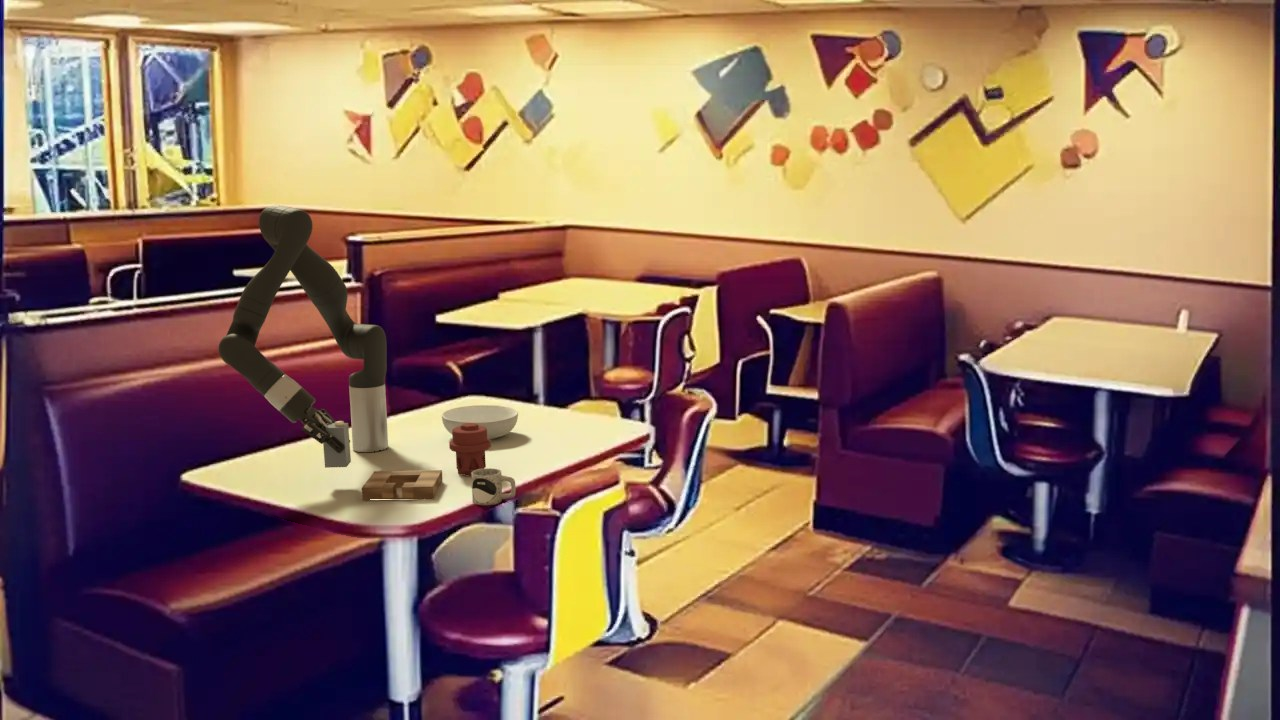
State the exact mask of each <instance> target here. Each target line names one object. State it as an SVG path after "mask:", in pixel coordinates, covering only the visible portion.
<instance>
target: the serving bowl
mask: <svg viewBox="0 0 1280 720" xmlns="http://www.w3.org/2000/svg"><path fill="white" fill-rule="evenodd" d="M518 416H519V411H518V410H517V409H515V408H513V407H510V406H507V405H506V406H505V405H494V404H476V405H475V404H474V405H464V406H459V407H453V408H450V409H447V410H445V411H443V412H442V414H441V421H442V424H443V426H444V428H445V429H446V431H447V432H449V434H451V435H452V429H454V428H456V427H459V426H461V425H462V424H465V423H476V424H478V425H480V426H484V427H486V428H487V438H488V439H491V440H494V439H496V438H500V437H504V436H505V435H508V434H509V433H510V432H512V431H513V429H514V428H515V427H516V425H517V422H518ZM493 438H494V439H493Z"/></svg>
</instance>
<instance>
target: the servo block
mask: <svg viewBox="0 0 1280 720" xmlns="http://www.w3.org/2000/svg"><path fill="white" fill-rule="evenodd" d="M335 421H336V420H335ZM326 425H327V426H328V428H327V430H328V431H329V432H331V433H332V434H333V437H336V438H337V439H338V440H339V441H340V442H341V443H342V444H344V445H345V449H344V450H343V451H342V452H341V453H337V452H336V451H335V450H334V449H333V448H332V447H331V446H329V445H328V444H325V443H323V458H324V460H323V461H324V468H347V467H348V466H349V465H350V463H351V462H352V459H351V458H352V457H351V456H352V455H351V441H350V442H349V440H350V433H349V432H350V429H349V422H344V420H338V421H336V422H335V423H332V424H328V423H327V424H326ZM324 432H325V431H324Z"/></svg>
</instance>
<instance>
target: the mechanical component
mask: <svg viewBox="0 0 1280 720" xmlns="http://www.w3.org/2000/svg"><path fill="white" fill-rule="evenodd" d="M451 435H452V440H450V441H449V442H448V446H449V450H450V451H452V452H454V453H455V461H456V463H455V464H456V465H455V466H456V470H457V474H458V475H460V474H462V475H463V476H468V477H469V478H472V475H471V473H472V472H473V471H475V470H478V469H485V468H487V467H486V451H487V450H489V449H490V448H491V447H492V439H491V440H490V439H488V438H487V428H486V427H484V426H480V425H478V424H476V423H465V424H462V425H461V426H459V427H456V428H454V429H452V434H451Z"/></svg>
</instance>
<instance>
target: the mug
mask: <svg viewBox="0 0 1280 720" xmlns="http://www.w3.org/2000/svg"><path fill="white" fill-rule="evenodd" d="M471 475H472V477H471V495H472V497H471V498H472V503H473V504H475V505H476V506H477V505H479V506H493V505H497V504H500V503H502V502H503V500H506V499H513V498H515V496H516V492H517V491H516V489H517V488H516V481H515V478H513V477H512V476H506V475H502V470H500V468H499V469H497V468H491V467H490V468H487V467H485V468H484V469H478V470H475V471H473V472H472V473H471ZM502 482H509V483H510V487H511V489H510V490H511V491H510V492H509V493H504V492H503V483H502Z"/></svg>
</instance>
